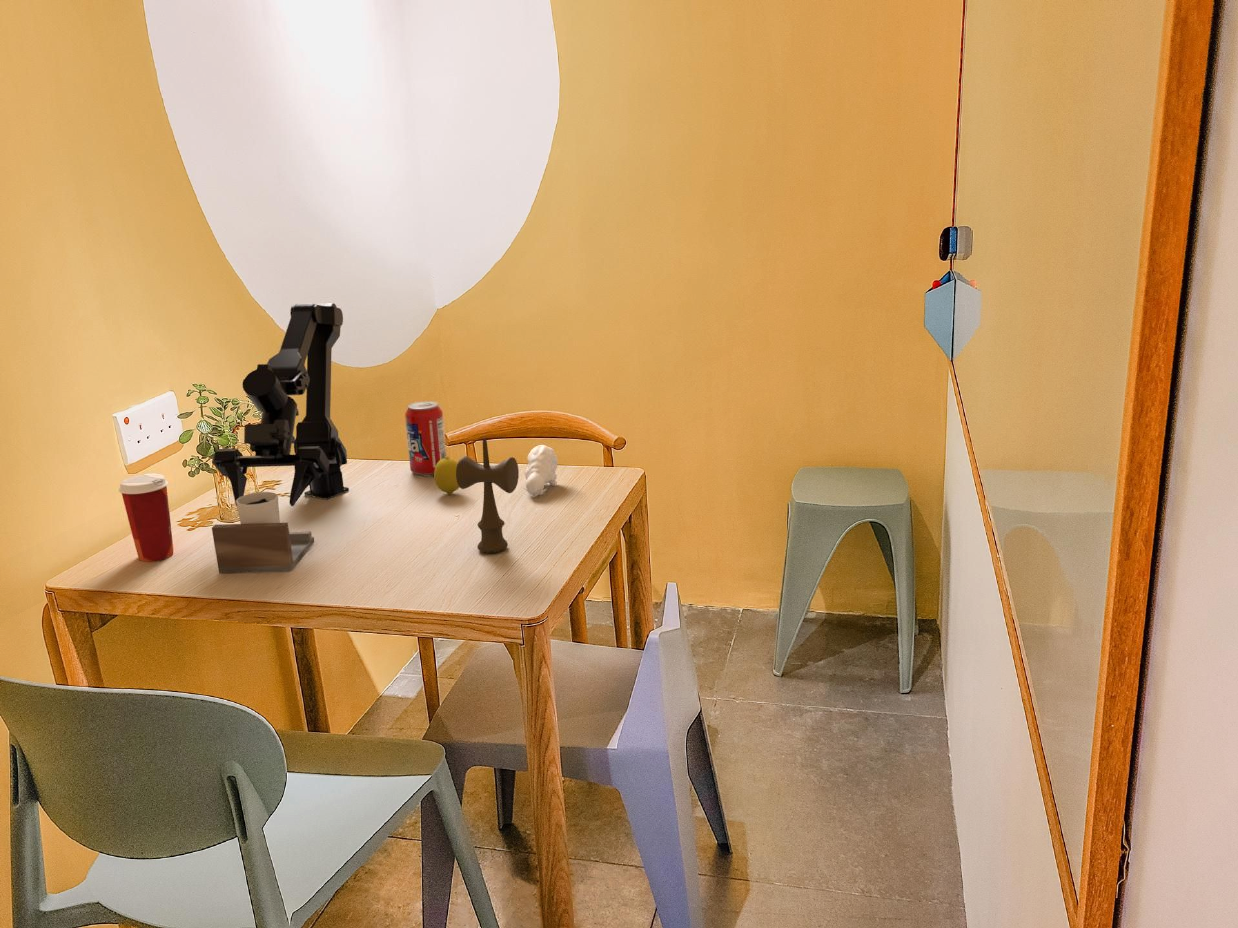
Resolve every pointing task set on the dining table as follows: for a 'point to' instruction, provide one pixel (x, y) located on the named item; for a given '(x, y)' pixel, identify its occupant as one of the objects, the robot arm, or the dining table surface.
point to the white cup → (258, 508)
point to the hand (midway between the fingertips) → (264, 505)
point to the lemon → (446, 475)
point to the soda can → (425, 437)
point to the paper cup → (148, 515)
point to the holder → (259, 547)
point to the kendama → (489, 494)
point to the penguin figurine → (540, 469)
